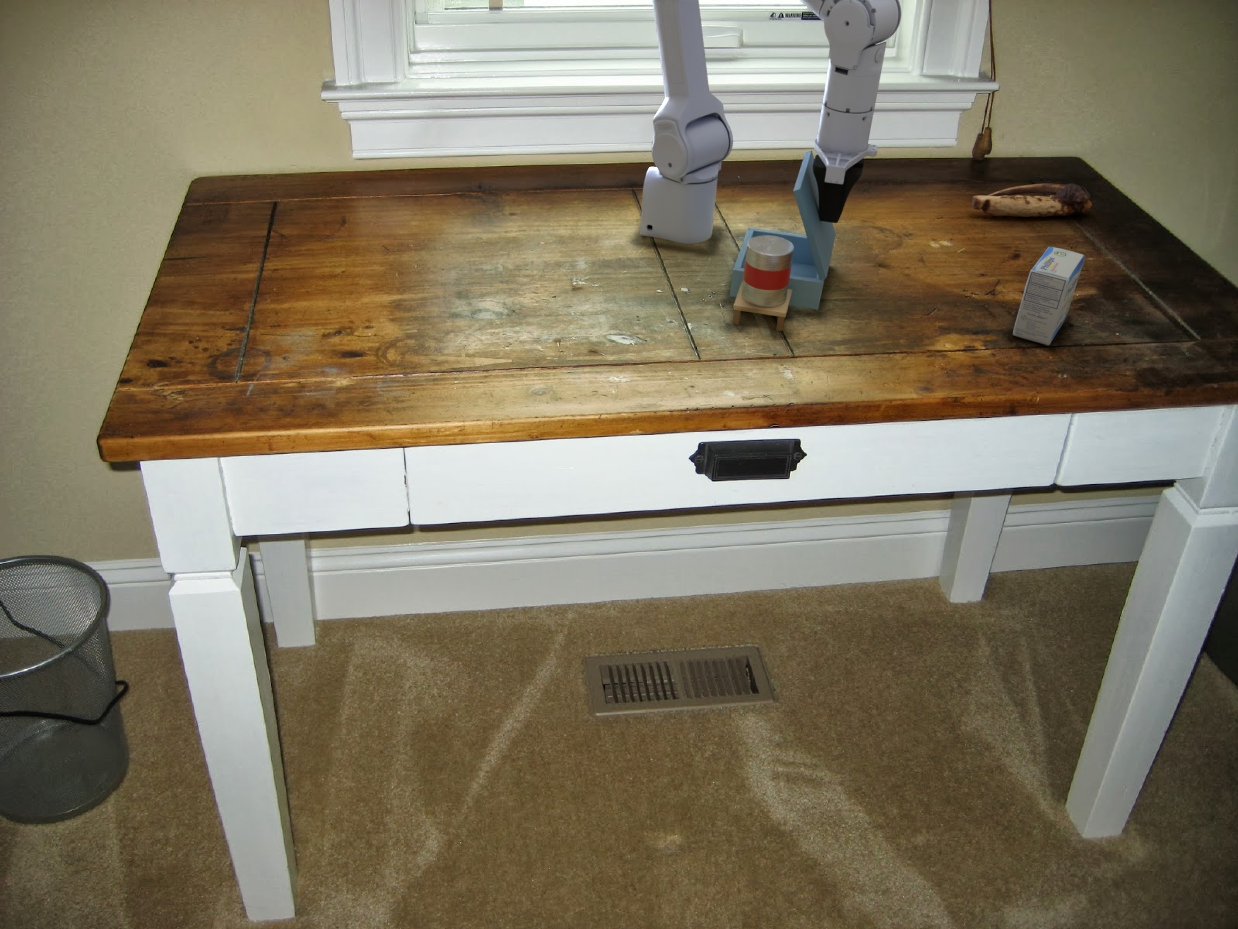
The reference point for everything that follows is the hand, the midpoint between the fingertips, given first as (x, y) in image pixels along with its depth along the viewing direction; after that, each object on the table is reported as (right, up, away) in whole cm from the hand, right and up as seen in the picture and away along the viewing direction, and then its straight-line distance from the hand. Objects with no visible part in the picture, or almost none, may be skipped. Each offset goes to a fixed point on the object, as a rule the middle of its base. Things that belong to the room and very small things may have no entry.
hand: (829, 219), depth 127 cm
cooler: (-5, -7, +6) cm, 11 cm away
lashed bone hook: (+34, +8, +29) cm, 45 cm away
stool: (-8, -12, -1) cm, 15 cm away
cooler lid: (-2, +1, 0) cm, 2 cm away
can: (-8, -10, -3) cm, 13 cm away
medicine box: (+25, -13, 0) cm, 28 cm away
